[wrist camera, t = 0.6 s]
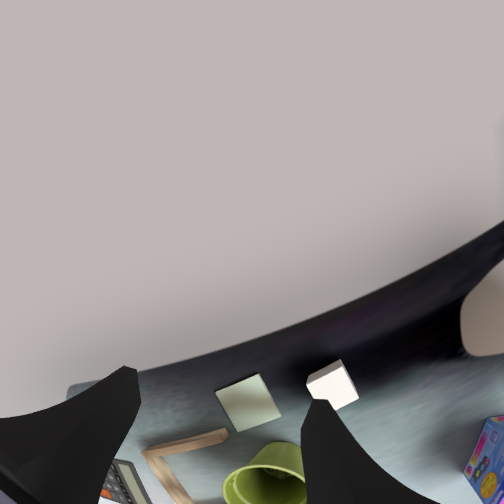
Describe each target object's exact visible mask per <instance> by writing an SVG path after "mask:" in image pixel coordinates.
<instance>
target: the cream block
mask: <svg viewBox="0 0 504 504" xmlns="http://www.w3.org/2000/svg"><path fill="white" fill-rule="evenodd" d="M306 385H307V387H308V389H309V391H310V393H311V395H312V396H313V398H314V399H328V401H329V402H330V404H331V405H332V407H333V408H334V410H337V409H339V408H341V407H343V406H345V405H347V404H349V403H351V402H353V401H355V400H357V399H358V398H359V397H358V394H357V391H356V388H355V386H354V384H353V382H352V380H351V379H350V377H349V375H348V373H347V371H346V369H345V367H344V365H343V363H342V361H341V359H339V360H338V361H336V362H334V363H332V364H330V365H328V366H326V367H325V368H323V369H321V370H319V371H317V372H315V373H313V374H311V375H309V376H308V380H307V384H306Z"/></svg>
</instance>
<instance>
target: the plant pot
mask: <svg viewBox="0 0 504 504" xmlns="http://www.w3.org/2000/svg"><path fill="white" fill-rule="evenodd" d="M267 468H270V469H272V470H273V472H271V471H269V470H268V469H267ZM222 493H223V496H224V499H225V501H226V502H227V504H307V495H306V486H305V478H304V471H303V463H302V455H301V448H300V447H298V446H297V445H295V444H292V443H289V442H273V443H270V444H268V445H266V446H265V447H263V448H262V449H261V450H260V451H259V452H258V454H257V455H256V456H255V457H254V458H253V459H252V460H251V461H250V462H249V463H248V464H247V465H246V466H243V467H240V468H238V469H236V470H234V471H233V472H231V473H230V474H229V475H228V476H227V477H226V479H225V480H224V482H223V486H222Z"/></svg>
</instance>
